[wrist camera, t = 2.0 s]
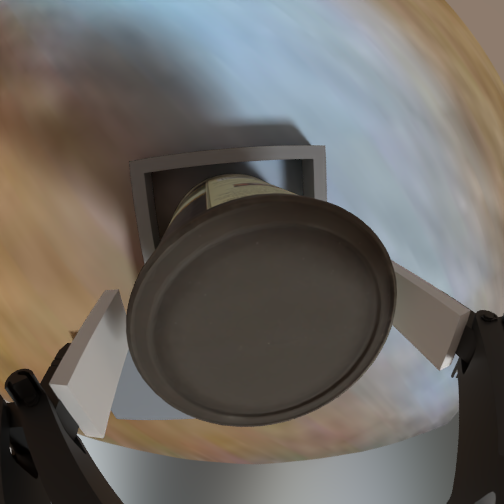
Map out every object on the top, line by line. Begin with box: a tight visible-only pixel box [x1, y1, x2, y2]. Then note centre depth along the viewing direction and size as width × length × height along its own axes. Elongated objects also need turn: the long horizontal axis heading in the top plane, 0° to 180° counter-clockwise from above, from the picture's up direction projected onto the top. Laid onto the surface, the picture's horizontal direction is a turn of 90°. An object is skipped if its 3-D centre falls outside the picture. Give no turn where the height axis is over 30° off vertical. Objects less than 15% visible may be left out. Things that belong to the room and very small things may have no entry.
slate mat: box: [111, 349, 194, 420], centre depth 25 cm, size 13×13×1 cm
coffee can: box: [126, 174, 397, 427], centre depth 16 cm, size 10×10×14 cm
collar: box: [129, 145, 327, 264], centre depth 21 cm, size 14×14×2 cm
